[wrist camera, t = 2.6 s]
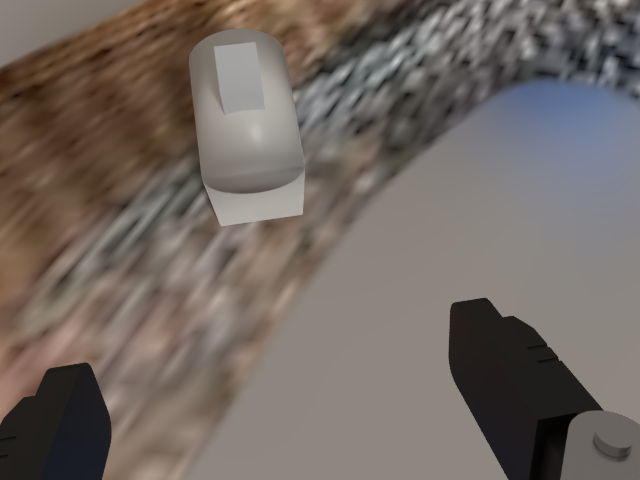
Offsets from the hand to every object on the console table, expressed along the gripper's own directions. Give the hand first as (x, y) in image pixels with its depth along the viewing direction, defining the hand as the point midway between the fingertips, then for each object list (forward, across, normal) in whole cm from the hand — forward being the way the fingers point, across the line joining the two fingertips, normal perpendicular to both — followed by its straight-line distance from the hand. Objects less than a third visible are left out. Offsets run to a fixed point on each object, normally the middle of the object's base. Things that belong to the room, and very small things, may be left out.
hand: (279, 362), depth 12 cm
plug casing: (+18, 0, +2) cm, 19 cm away
